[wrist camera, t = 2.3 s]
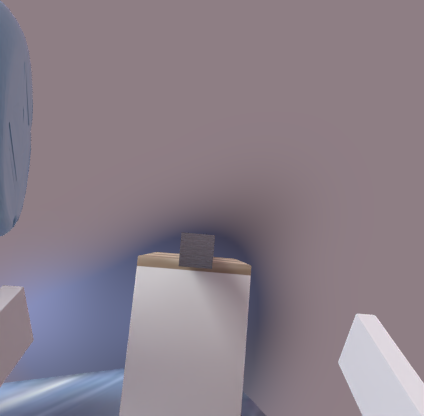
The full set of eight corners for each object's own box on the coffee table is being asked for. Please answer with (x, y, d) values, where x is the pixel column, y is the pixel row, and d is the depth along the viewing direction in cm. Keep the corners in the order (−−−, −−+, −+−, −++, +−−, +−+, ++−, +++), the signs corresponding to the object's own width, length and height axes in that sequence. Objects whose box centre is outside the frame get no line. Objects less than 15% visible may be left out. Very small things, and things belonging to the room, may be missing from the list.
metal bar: (212, 269, 26) (214, 235, 26) (178, 266, 26) (181, 232, 26) (204, 256, 51) (205, 239, 52) (187, 254, 51) (189, 237, 52)
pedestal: (232, 538, 32) (251, 265, 36) (105, 532, 31) (138, 255, 35) (220, 440, 48) (234, 258, 52) (136, 435, 47) (156, 252, 51)
